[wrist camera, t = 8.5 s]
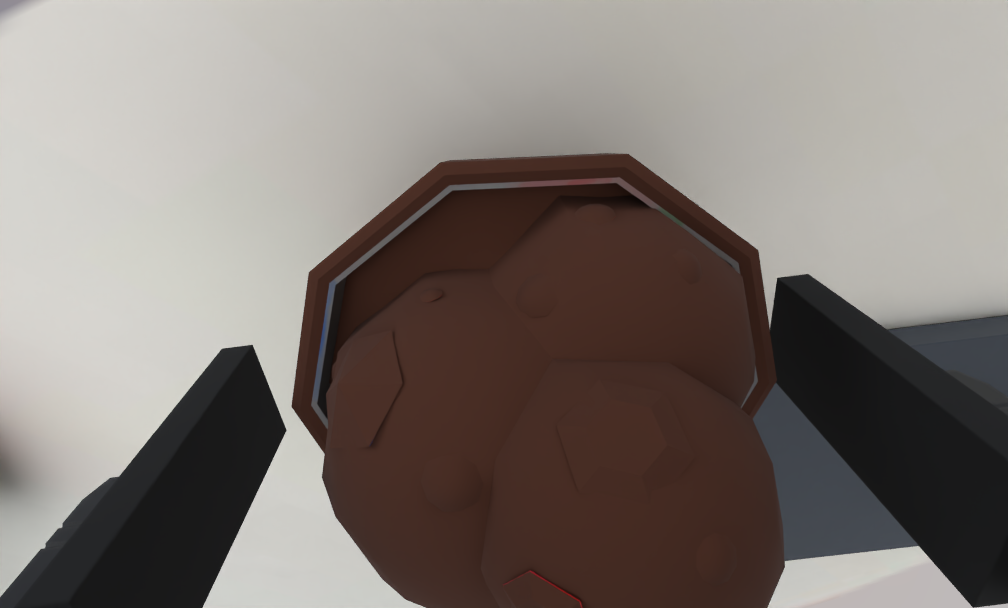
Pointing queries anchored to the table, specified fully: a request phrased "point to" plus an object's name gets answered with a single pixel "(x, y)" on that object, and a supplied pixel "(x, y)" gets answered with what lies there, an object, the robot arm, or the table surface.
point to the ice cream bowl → (546, 392)
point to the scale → (827, 477)
